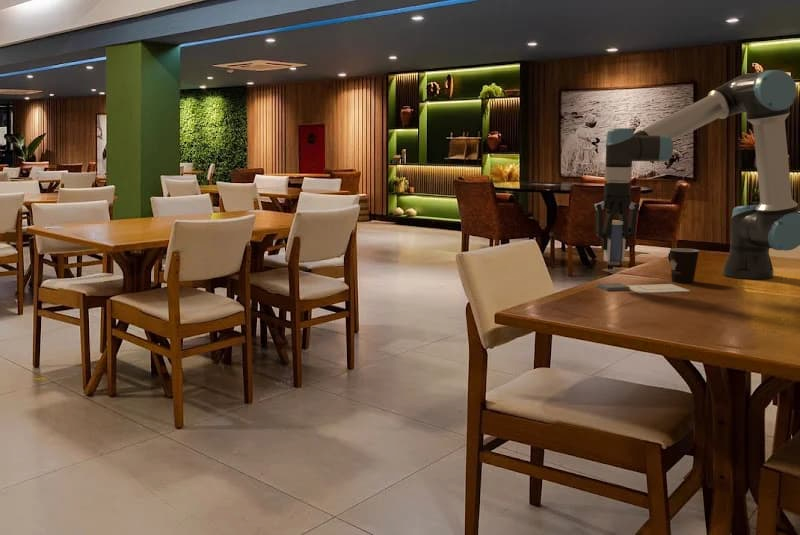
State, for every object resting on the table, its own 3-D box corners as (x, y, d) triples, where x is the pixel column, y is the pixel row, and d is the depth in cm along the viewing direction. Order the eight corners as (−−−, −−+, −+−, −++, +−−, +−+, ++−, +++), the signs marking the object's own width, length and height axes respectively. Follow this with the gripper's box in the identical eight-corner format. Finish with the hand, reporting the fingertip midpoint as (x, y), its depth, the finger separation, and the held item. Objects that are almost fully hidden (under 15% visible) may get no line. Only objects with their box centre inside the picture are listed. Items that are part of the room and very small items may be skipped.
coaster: (619, 286, 231) (619, 282, 231) (629, 290, 225) (629, 287, 224) (597, 286, 230) (597, 283, 230) (607, 291, 223) (607, 287, 223)
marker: (617, 263, 229) (619, 220, 227) (623, 265, 224) (625, 221, 222) (604, 263, 228) (606, 220, 226) (610, 265, 224) (612, 221, 222)
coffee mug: (699, 284, 234) (701, 252, 232) (670, 283, 236) (671, 251, 234) (692, 278, 245) (694, 247, 244) (664, 277, 247) (666, 246, 245)
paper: (671, 285, 233) (671, 283, 233) (690, 291, 222) (690, 290, 222) (622, 286, 230) (622, 285, 230) (638, 293, 220) (639, 292, 220)
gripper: (639, 181, 227) (635, 258, 231) (585, 181, 225) (581, 259, 228) (650, 182, 220) (646, 261, 224) (595, 182, 217) (591, 263, 221)
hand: (613, 260), depth 226 cm, fingers closed on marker, 4 cm apart
